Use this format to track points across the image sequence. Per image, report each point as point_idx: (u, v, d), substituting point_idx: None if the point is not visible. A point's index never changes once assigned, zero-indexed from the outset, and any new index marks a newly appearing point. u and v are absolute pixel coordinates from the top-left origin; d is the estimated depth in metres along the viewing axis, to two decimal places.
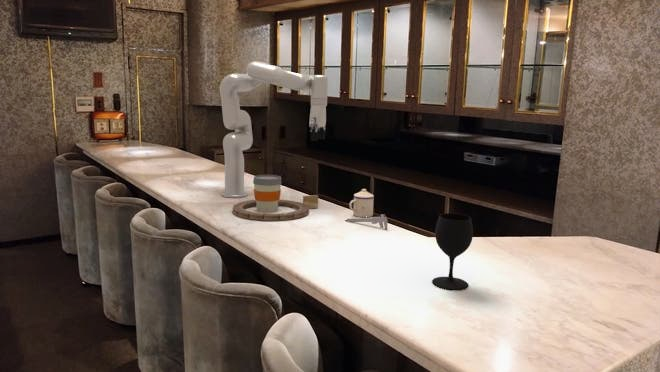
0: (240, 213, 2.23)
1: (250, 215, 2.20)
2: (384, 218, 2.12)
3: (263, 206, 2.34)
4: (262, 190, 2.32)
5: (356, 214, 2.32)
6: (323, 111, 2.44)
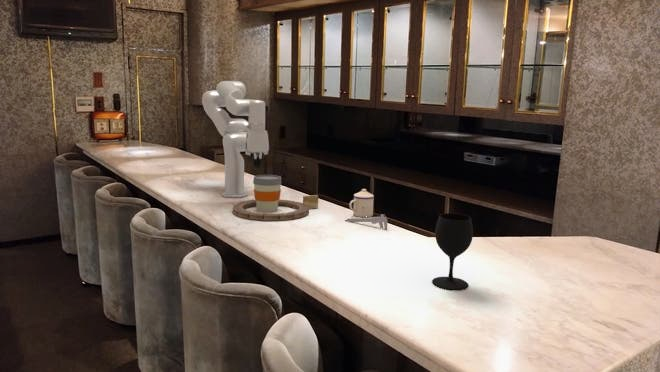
0: (240, 213, 2.23)
1: (250, 215, 2.20)
2: (384, 218, 2.12)
3: (263, 206, 2.34)
4: (262, 190, 2.32)
5: (356, 214, 2.32)
6: None
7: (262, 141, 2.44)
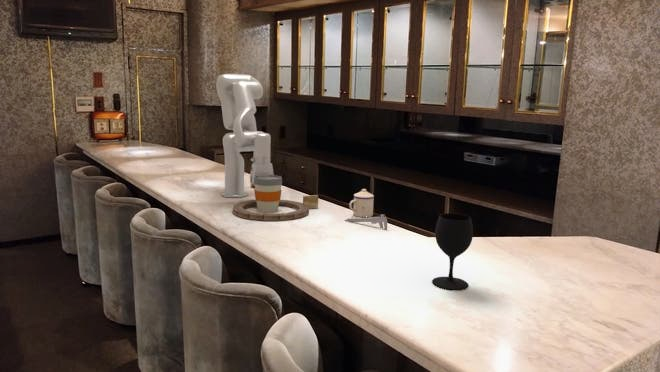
0: (240, 213, 2.23)
1: (250, 215, 2.20)
2: (384, 218, 2.12)
3: (263, 206, 2.34)
4: (263, 191, 2.31)
5: (356, 214, 2.32)
6: None
7: (267, 174, 2.41)
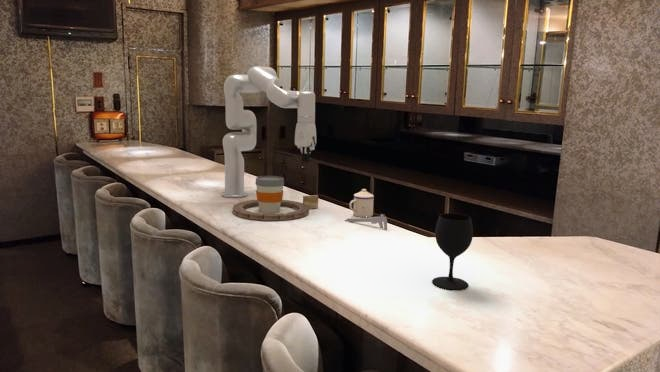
0: (240, 213, 2.23)
1: (250, 215, 2.20)
2: (384, 218, 2.12)
3: (265, 207, 2.32)
4: (265, 192, 2.30)
5: (356, 214, 2.32)
6: None
7: (303, 134, 2.29)
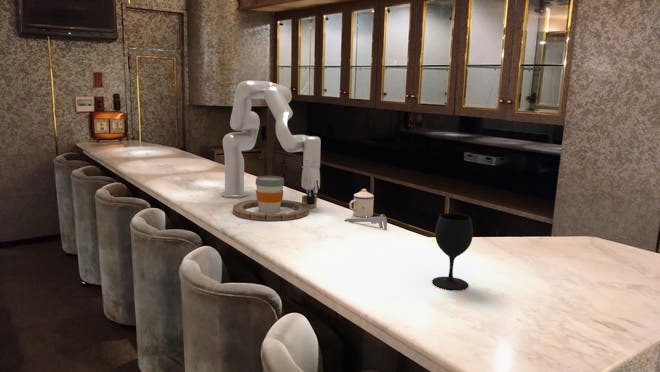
0: (241, 213, 2.23)
1: (252, 215, 2.20)
2: (383, 218, 2.12)
3: (265, 207, 2.32)
4: (265, 192, 2.30)
5: (356, 214, 2.32)
6: None
7: (307, 178, 2.37)
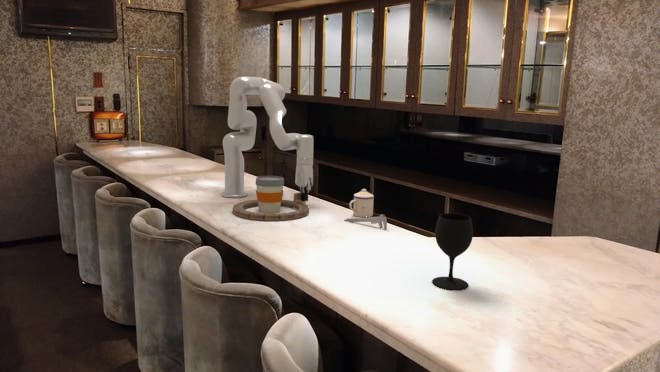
0: (253, 215, 2.20)
1: (266, 216, 2.19)
2: (383, 218, 2.12)
3: (265, 207, 2.32)
4: (265, 192, 2.30)
5: (356, 214, 2.32)
6: None
7: (300, 175, 2.43)
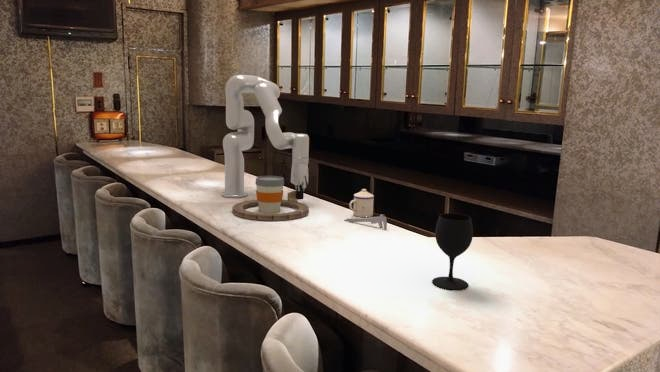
0: (261, 216, 2.19)
1: (275, 216, 2.19)
2: (383, 218, 2.12)
3: (265, 207, 2.32)
4: (265, 192, 2.30)
5: (356, 214, 2.32)
6: None
7: (295, 174, 2.47)
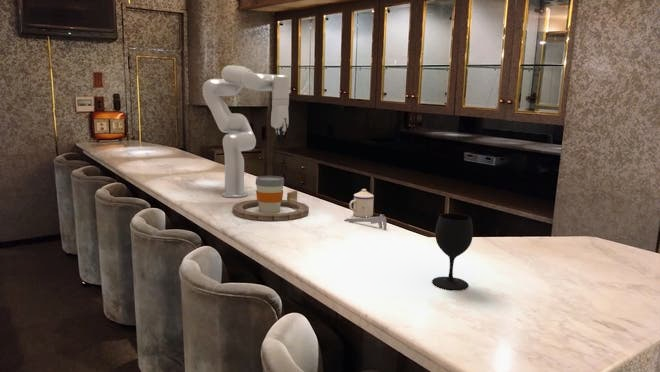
0: (261, 216, 2.19)
1: (275, 216, 2.19)
2: (383, 218, 2.12)
3: (265, 207, 2.32)
4: (265, 192, 2.30)
5: (356, 214, 2.32)
6: None
7: (275, 116, 2.40)
